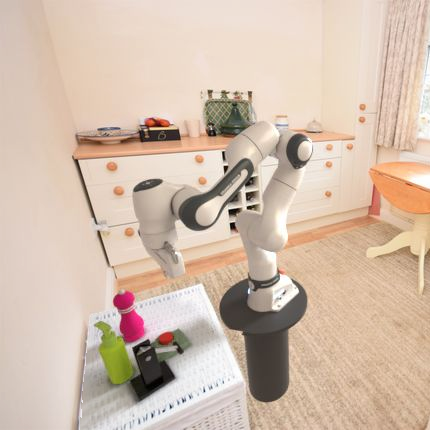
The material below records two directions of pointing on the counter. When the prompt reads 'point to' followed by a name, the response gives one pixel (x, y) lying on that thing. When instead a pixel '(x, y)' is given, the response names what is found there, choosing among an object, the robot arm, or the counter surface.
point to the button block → (171, 344)
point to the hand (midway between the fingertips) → (168, 276)
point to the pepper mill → (128, 316)
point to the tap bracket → (149, 372)
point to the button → (165, 338)
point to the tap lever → (163, 349)
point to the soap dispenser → (114, 355)
